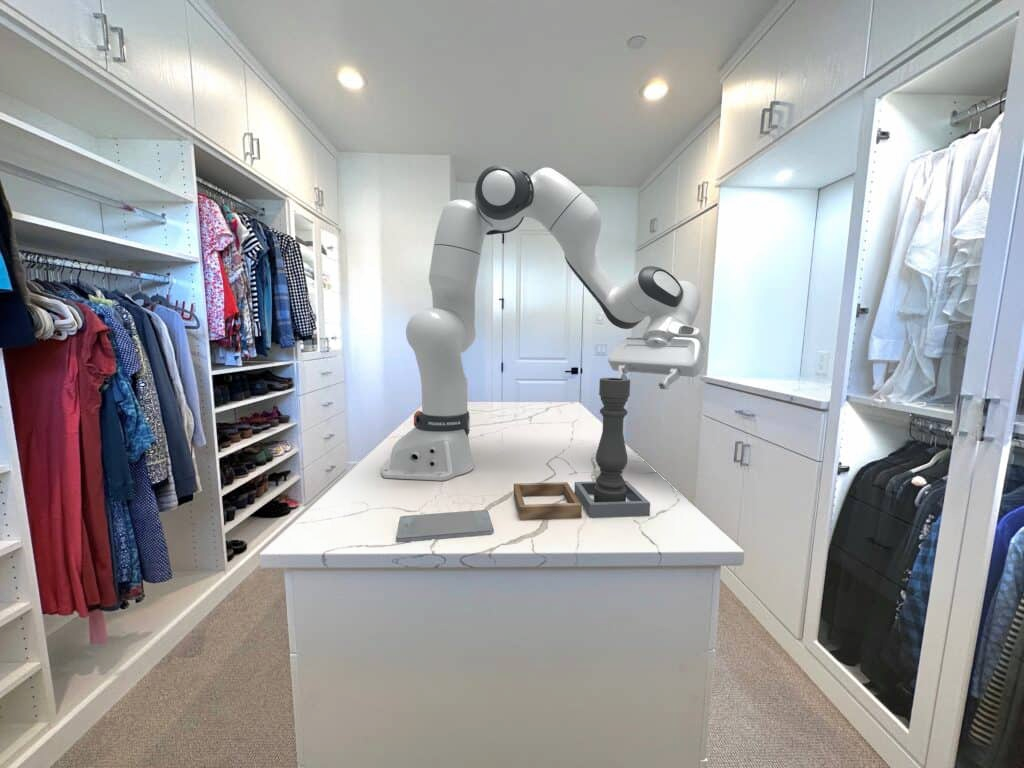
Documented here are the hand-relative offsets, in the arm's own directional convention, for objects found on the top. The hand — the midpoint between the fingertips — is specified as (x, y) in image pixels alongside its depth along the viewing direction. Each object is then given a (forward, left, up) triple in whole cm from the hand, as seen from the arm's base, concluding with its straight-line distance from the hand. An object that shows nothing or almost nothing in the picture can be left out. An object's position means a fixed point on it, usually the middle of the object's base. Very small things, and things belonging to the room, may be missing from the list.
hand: (641, 385), depth 84 cm
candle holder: (-9, -7, -23) cm, 26 cm away
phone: (-40, -14, -24) cm, 49 cm away
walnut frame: (-22, -7, -23) cm, 32 cm away
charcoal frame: (-9, -7, -23) cm, 25 cm away
